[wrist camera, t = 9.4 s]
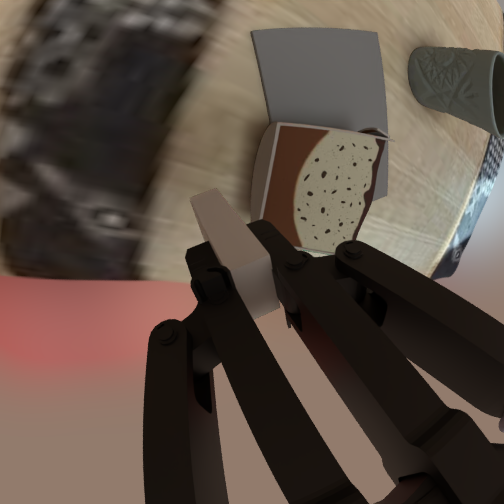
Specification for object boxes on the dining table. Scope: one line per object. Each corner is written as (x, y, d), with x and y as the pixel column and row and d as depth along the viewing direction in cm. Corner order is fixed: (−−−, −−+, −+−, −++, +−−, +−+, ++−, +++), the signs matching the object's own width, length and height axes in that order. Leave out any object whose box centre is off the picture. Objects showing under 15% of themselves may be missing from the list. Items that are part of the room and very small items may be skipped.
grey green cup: (446, 108, 27) (515, 134, 18) (407, 117, 26) (492, 147, 16) (438, 43, 21) (513, 57, 11) (395, 38, 20) (488, 46, 10)
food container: (241, 225, 27) (330, 233, 30) (251, 259, 22) (355, 263, 24) (262, 101, 21) (359, 124, 23) (281, 101, 16) (396, 135, 18)
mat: (288, 231, 28) (290, 233, 28) (250, 31, 16) (252, 30, 16) (384, 194, 31) (387, 195, 30) (374, 32, 19) (377, 32, 18)
